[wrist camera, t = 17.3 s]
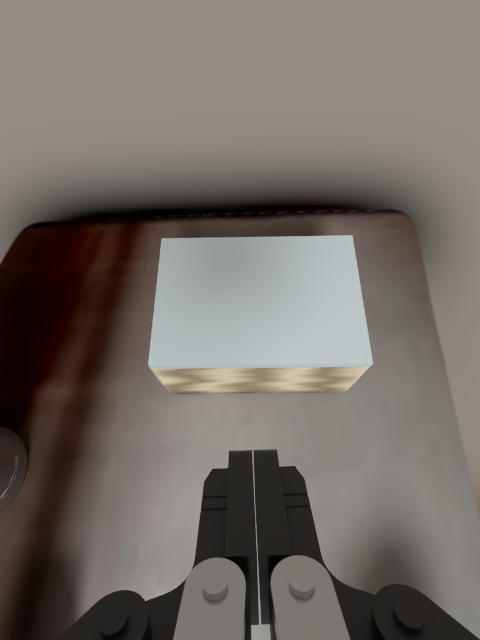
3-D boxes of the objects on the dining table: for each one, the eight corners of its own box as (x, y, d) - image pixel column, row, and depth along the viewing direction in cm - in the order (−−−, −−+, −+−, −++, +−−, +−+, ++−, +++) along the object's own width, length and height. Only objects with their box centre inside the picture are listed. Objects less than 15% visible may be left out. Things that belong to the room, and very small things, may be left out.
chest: (169, 393, 43) (151, 369, 34) (178, 287, 49) (164, 245, 40) (345, 392, 42) (368, 367, 34) (332, 285, 48) (349, 242, 40)
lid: (150, 368, 34) (148, 365, 33) (163, 244, 40) (161, 238, 39) (369, 366, 34) (372, 363, 33) (349, 241, 40) (352, 235, 39)
